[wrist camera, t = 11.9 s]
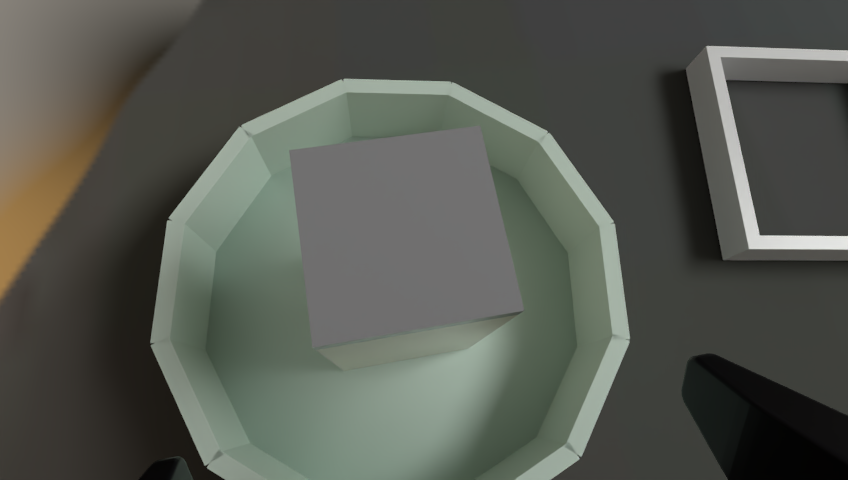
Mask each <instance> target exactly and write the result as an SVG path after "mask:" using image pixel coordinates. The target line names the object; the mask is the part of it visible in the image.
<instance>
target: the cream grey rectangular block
mask: <svg viewBox="0 0 848 480" xmlns="http://www.w3.org/2000/svg"><path fill="white" fill-rule="evenodd" d="M289 153H290V162H291V170H292V179H293V187H294V195H295V204H296V212H297V221H298V229H299V238H300V246H301V255H302V263H303V272H304V280H305V289H306V297H307V306H308V314H309V323H310V331H311V340H312V348H314V349H315V350H316V351H318V352H319V353H320V354H322V355H323V356H324V357H326V358H327V359H328V360H330V361H331V362H332V363H334V364H335V365H336V366H338V367H339V368H340V369H342V370H343V371H347V370H353V369H358V368H364V367H369V366H375V365H380V364H386V363H391V362H397V361H402V360H408V359H413V358H419V357H424V356H430V355H435V354H441V353H447V352H452V351H458V350H463V349H468V348H470V347H471V346H473V345H474V344H476V343H477V342H479V341H480V340H482V339H483V338H485V337H486V336H487V335H489V334H490V333H492V332H493V331H495V330H496V329H498V328H499V327H501V326H502V325H504V324H505V323H507V322H508V321H510V320H511V319H513V318H514V317H516V316H517V315H519V314H520V313H522V312H523V311H524V307H523V303H522V299H521V294H520V290H519V286H518V282H517V278H516V273H515V269H514V265H513V261H512V257H511V253H510V248H509V244H508V240H507V236H506V232H505V227H504V223H503V219H502V215H501V211H500V206H499V202H498V198H497V194H496V190H495V185H494V181H493V177H492V173H491V169H490V164H489V160H488V156H487V152H486V148H485V144H484V139H483V135H482V131H481V127H480V126H473V127H465V128H457V129H449V130H442V131H434V132H426V133H418V134H411V135H403V136H395V137H387V138H380V139H372V140H364V141H357V142H349V143H341V144H333V145H326V146H318V147H310V148H302V149H295V150H289Z"/></svg>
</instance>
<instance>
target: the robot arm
mask: <svg viewBox="0 0 848 480" xmlns="http://www.w3.org/2000/svg"><path fill="white" fill-rule="evenodd" d="M682 397H683V400H684V403H685V405H686V406H687V408H688V410H689V412H690V414H691V415H692V417H693V419H694V421H695V422H696V424H697V426H698V428H699V430H700V431H701V433H702V435H703V437H704V438H705V440H706V442H707V444H708V446H709V447H710V449H711V451H712V453H713V454H714V456H715V458H716V460H717V462H718V463H719V465H720V467H721V469H722V470H723V472H724V474H725V475H726V477H727V479H728V480H848V415H846V414H843V413H841V412H839V411H837V410H835V409H833V408H830V407H828V406H826V405H824V404H822V403H820V402H817V401H815V400H813V399H811V398H809V397H807V396H804V395H802V394H800V393H798V392H796V391H793V390H791V389H789V388H787V387H785V386H783V385H780V384H778V383H776V382H774V381H772V380H770V379H767V378H765V377H763V376H761V375H759V374H757V373H754V372H752V371H750V370H748V369H746V368H744V367H741V366H739V365H737V364H735V363H733V362H731V361H728V360H726V359H724V358H722V357H720V356H718V355H715V354H703V355H698V356H693V357H691V358H690V359H689V360H688V361H687V365H686V370H685V375H684V380H683V385H682ZM138 480H193V478H192V476H191V473H190V471H189V469H188V466H187V464H186V462H185V460H184V459H183V458H182V457H178V456H176V457H171V458H166V459H161V460H157V461H155V462H154V463H153V464H151V465H150V467H149V468H148V469H147V470H146V471H145V472H144V474H143V475H142V476H141V477H140V478H139V479H138Z"/></svg>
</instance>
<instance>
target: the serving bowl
mask: <svg viewBox="0 0 848 480" xmlns="http://www.w3.org/2000/svg"><path fill="white" fill-rule="evenodd" d="M241 126H242V128H241V127H239V128H238V129H237V130H236V132H235V133H234V134H233V136H232V137H231V138H230V139H229V141H228V142H227V143H226V145H225V146H224V147H223V148H222V150H221V151H220V152H219V154H218V155H217V156H216V157H215V159H214V160H213V161H212V163H211V164H210V165H209V166H208V168H207V169H206V170H205V172H204V173H203V174H202V175H201V177H200V178H199V179H198V181H197V182H196V183H195V185H194V186H193V187H192V188H191V190H190V191H189V192H188V194H187V195H186V196H185V197H184V199H183V200H182V201H181V203H180V204H179V205H178V206H177V208H176V209H175V210H174V212H173V213H172V214H171V215H170V217H169V219H170V220H167V226H166V233H165V240H164V248H163V255H162V262H161V269H160V276H159V283H158V290H157V298H156V305H155V312H154V319H153V326H152V333H151V340H150V343H152V345H150V346H151V348H152V350H153V352H154V354H155V357H156V359H157V361H158V363H159V365H160V368H161V370H162V372H163V374H164V377H165V379H166V381H167V383H168V385H169V388H170V390H171V392H172V394H173V397H174V399H175V401H176V403H177V405H178V408H179V410H180V412H181V414H182V417H183V419H184V421H185V423H186V425H187V428H188V430H189V432H190V434H191V436H192V439H193V441H194V443H195V445H196V448H197V450H198V452H199V454H200V456H201V459H202V461H203V463H204V465H205V466H206V465H208V467H207V469H209V470H211V471H212V472H214V473H215V474H217V475H219V476H220V477H222V478H223V479H225V480H551V479H552V478H553V477H555V476H556V475H558V474H559V473H561V472H562V471H563V470H565V469H566V468H568V467H569V466H570V465H572V464H573V463H575V462H576V461H578V460H579V459H580V458H579V457H578V456H580V457H582V454H583V452H584V449H585V447H586V445H587V442H588V440H589V437H590V435H591V433H592V430H593V428H594V426H595V423H596V421H597V418H598V416H599V414H600V411H601V409H602V406H603V404H604V402H605V399H606V397H607V394H608V392H609V390H610V387H611V385H612V383H613V380H614V378H615V375H616V373H617V371H618V368H619V366H620V363H621V361H622V359H623V356H624V354H625V351H626V349H627V347H628V344H629V342H630V341H628V339H630V335H629V328H628V320H627V313H626V305H625V298H624V290H623V283H622V275H621V267H620V260H619V252H618V245H617V237H616V230H615V224H612V223H613V222H614V221H613V220H612V219H611V217H610V216H609V214H608V213H607V212H606V210H605V209H604V208H603V206H602V205H601V203H600V202H599V201H598V199H597V198H596V197H595V195H594V194H593V192H592V191H591V190H590V188H589V187H588V185H587V184H586V183H585V181H584V180H583V179H582V177H581V176H580V174H579V173H578V172H577V170H576V169H575V167H574V166H573V165H572V163H571V162H570V161H569V159H568V158H567V156H566V155H565V154H564V152H563V151H562V150H561V148H560V147H559V145H558V144H557V143H556V141H555V140H554V138H553V137H552V136H551V134H550V133H548V134H547V132H548V131H546V130H544V129H542V128H540V127H538V126H536V125H534V124H532V123H530V122H529V121H527V120H525V119H523V118H521V117H519V116H517V115H515V114H513V113H511V112H509V111H507V110H505V109H503V108H502V107H500V106H498V105H496V104H494V103H492V102H490V101H488V100H486V99H484V98H482V97H480V96H478V95H476V94H475V93H473V92H471V91H469V90H467V89H465V88H463V87H461V86H459V85H457V84H455V83H452V84H451V82H442V81H404V80H367V79H344V82H343V81H342V79H341V80H339V81H337V82H335V83H332V84H330V85H328V86H326V87H324V88H321V89H319V90H317V91H315V92H313V93H311V94H308V95H306V96H304V97H302V98H300V99H297V100H295V101H293V102H291V103H289V104H287V105H284V106H282V107H280V108H278V109H276V110H273V111H271V112H269V113H267V114H265V115H263V116H260V117H258V118H256V119H254V120H252V121H249V122H247V123H245V124H243V125H241ZM473 126H480V127H481V131H482V135H483V139H484V144H485V148H486V152H487V156H488V160H489V164H490V169H491V173H492V177H493V181H494V185H495V190H496V194H497V198H498V202H499V206H500V211H501V215H502V219H503V223H504V227H505V232H506V236H507V240H508V244H509V248H510V253H511V257H512V261H513V265H514V269H515V273H516V278H517V282H518V286H519V290H520V294H521V299H522V303H523V307H524V311H523V312H522V313H520V314H519V315H517V316H516V317H514V318H513V319H511V320H510V321H508V322H507V323H505V324H504V325H502V326H501V327H499V328H498V329H496V330H495V331H493V332H492V333H490V334H489V335H487V336H486V337H485V338H483V339H482V340H480V341H479V342H477V343H476V344H474V345H473V346H471V347H470V348H468V349H463V350H458V351H452V352H447V353H441V354H435V355H430V356H424V357H419V358H413V359H408V360H402V361H397V362H391V363H386V364H380V365H375V366H369V367H364V368H358V369H353V370H347V371H343V370H342V369H340V368H339V367H338V366H336V365H335V364H334V363H332V362H331V361H330V360H328V359H327V358H326V357H324V356H323V355H322V354H320V353H319V352H318V351H316V350H315V349H314V348H312V340H311V331H310V323H309V314H308V306H307V297H306V289H305V280H304V272H303V263H302V255H301V246H300V238H299V229H298V221H297V212H296V204H295V195H294V187H293V179H292V170H291V162H290V153H289V150H295V149H302V148H310V147H318V146H326V145H333V144H341V143H349V142H357V141H364V140H372V139H380V138H387V137H395V136H403V135H411V134H418V133H426V132H434V131H442V130H449V129H457V128H465V127H473Z"/></svg>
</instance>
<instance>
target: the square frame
mask: <svg viewBox="0 0 848 480" xmlns="http://www.w3.org/2000/svg"><path fill="white" fill-rule="evenodd" d="M686 73H687V78H688V83H689V88H690V94H691V99H692V104H693V109H694V114H695V119H696V124H697V130H698V135H699V140H700V145H701V150H702V155H703V160H704V166H705V171H706V176H707V181H708V186H709V191H710V196H711V201H712V207H713V212H714V217H715V222H716V227H717V232H718V237H719V243H720V248H721V253H722V258H723V260H815V261H848V236H760V235H759V230H758V226H757V221H756V217H755V212H754V207H753V203H752V198H751V194H750V189H749V185H748V180H747V176H746V171H745V166H744V162H743V157H742V153H741V148H740V144H739V139H738V135H737V130H736V126H735V121H734V116H733V112H732V107H731V103H730V98H729V94H728V89H727V85H726V80H744V81H779V82H815V83H848V51H844V50H814V49H783V48H753V47H722V46H706V47H705V48H704V49H703V50H702V51H701V52H700V53H699V55H698V56H697V57H696V58H695V59H694V60H693V61H692V62H691V64H690V65H689V66H688V67H687V68H686Z"/></svg>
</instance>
